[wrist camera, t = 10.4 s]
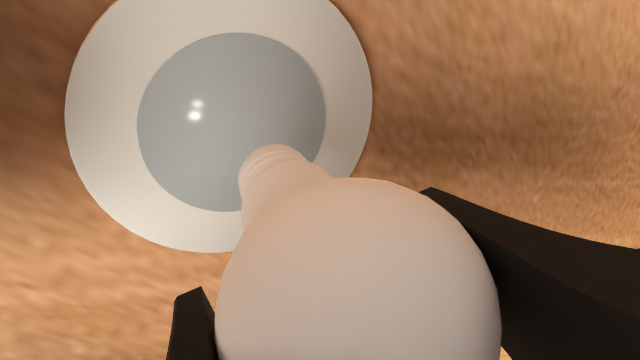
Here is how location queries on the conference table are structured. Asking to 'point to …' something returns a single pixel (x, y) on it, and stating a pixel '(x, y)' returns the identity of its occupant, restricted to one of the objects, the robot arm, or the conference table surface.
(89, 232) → the conference table surface
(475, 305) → the lightbulb
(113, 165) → the saucer
